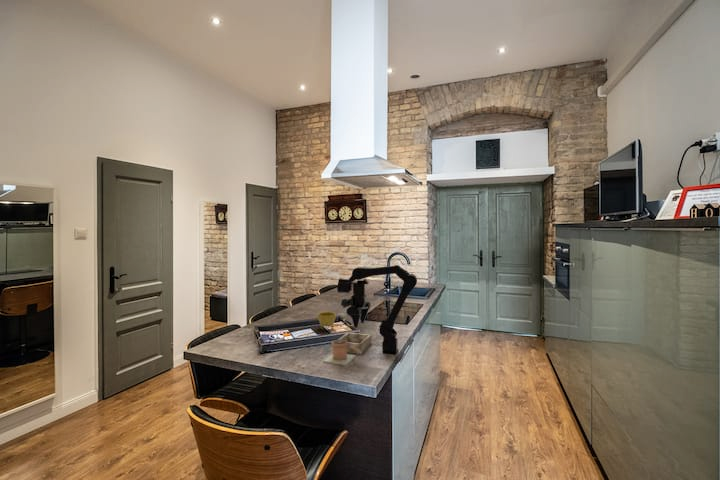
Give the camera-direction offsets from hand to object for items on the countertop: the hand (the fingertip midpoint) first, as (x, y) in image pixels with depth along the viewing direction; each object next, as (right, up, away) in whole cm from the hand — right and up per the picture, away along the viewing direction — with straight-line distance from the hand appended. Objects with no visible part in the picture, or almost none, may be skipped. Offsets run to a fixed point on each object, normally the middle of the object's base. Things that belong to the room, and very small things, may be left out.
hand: (359, 325), depth 165 cm
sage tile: (-9, -12, -13) cm, 20 cm away
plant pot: (-19, -12, +36) cm, 42 cm away
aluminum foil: (-46, -13, +10) cm, 49 cm away
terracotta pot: (-9, -12, -13) cm, 19 cm away
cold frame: (-3, -12, +4) cm, 13 cm away
